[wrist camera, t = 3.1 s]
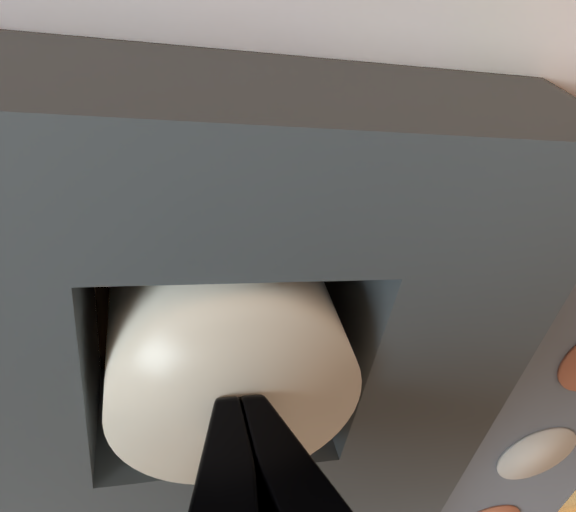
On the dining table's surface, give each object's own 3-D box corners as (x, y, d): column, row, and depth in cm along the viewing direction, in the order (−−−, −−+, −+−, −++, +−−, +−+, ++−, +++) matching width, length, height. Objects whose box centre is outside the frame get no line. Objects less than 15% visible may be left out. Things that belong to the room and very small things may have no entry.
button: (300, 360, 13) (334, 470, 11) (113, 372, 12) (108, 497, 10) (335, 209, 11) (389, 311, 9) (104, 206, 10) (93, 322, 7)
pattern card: (524, 540, 25) (529, 549, 25) (386, 564, 23) (389, 574, 23) (742, 270, 16) (755, 279, 16) (542, 276, 14) (551, 285, 14)
